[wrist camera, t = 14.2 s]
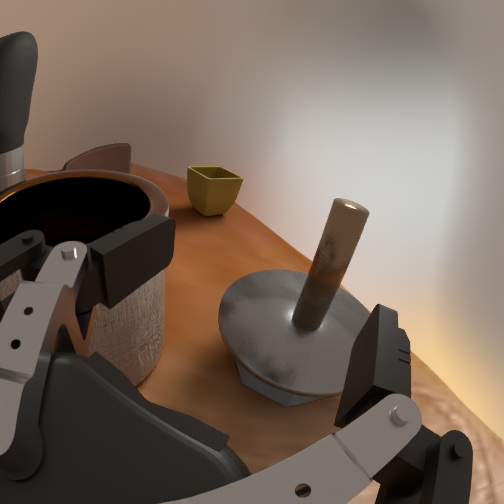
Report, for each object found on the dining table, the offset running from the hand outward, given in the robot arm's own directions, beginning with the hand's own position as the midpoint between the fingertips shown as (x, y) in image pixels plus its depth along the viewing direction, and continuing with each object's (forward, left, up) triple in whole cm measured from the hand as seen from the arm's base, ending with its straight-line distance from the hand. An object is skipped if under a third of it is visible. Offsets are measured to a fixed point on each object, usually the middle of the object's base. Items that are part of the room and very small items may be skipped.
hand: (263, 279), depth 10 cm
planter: (-13, -12, -19) cm, 26 cm away
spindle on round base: (-9, +10, -13) cm, 19 cm away
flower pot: (-48, +7, -19) cm, 52 cm away
